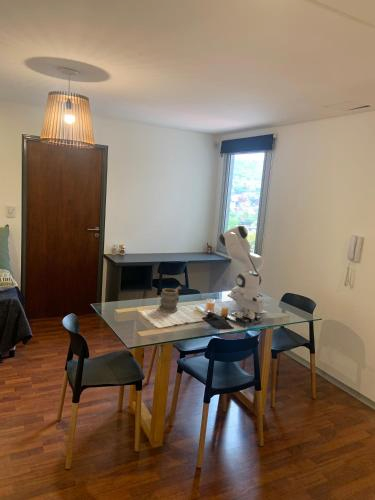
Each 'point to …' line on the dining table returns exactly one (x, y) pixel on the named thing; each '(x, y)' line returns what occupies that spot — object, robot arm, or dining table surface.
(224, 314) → the lockout cap
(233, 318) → the breaker panel
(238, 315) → the toggle left
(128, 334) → the dining table surface
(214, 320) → the dark slate chunk
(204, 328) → the dining table surface
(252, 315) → the toggle tagged
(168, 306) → the tankard
